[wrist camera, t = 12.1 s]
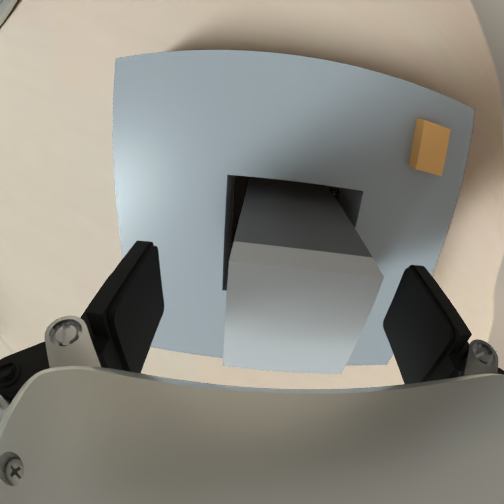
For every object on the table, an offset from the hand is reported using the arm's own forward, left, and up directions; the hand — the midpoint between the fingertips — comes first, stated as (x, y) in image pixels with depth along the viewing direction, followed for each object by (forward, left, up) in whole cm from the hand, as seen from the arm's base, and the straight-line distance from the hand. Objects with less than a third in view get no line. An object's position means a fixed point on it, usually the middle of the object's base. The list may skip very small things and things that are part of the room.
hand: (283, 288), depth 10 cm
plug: (0, 0, -8) cm, 8 cm away
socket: (0, 0, -8) cm, 8 cm away
